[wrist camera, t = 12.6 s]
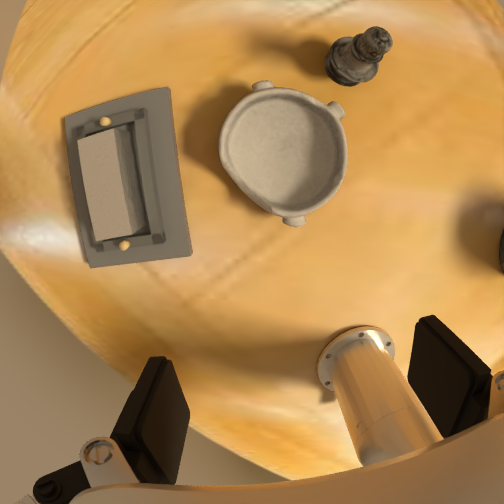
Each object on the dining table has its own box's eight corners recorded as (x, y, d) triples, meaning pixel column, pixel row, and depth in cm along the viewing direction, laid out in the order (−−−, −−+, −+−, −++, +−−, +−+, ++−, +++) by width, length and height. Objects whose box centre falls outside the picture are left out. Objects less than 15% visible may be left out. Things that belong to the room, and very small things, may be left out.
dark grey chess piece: (315, 76, 30) (348, 41, 19) (330, 39, 28) (364, -4, 17) (359, 96, 31) (408, 74, 19) (372, 59, 29) (419, 28, 18)
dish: (303, 229, 36) (312, 240, 31) (199, 176, 34) (192, 178, 29) (359, 127, 32) (376, 123, 27) (257, 70, 30) (260, 56, 25)
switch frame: (192, 252, 36) (186, 264, 32) (94, 264, 36) (80, 276, 32) (170, 89, 30) (161, 80, 26) (70, 118, 30) (53, 115, 26)
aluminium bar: (131, 131, 30) (113, 128, 25) (147, 223, 33) (132, 234, 29) (98, 141, 30) (77, 140, 25) (114, 230, 33) (96, 241, 29)
